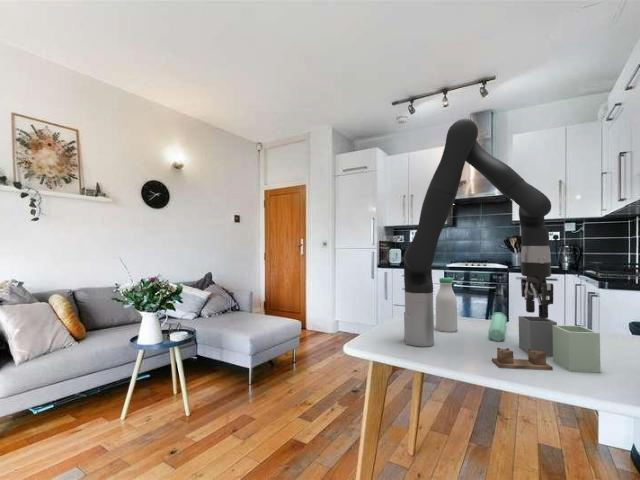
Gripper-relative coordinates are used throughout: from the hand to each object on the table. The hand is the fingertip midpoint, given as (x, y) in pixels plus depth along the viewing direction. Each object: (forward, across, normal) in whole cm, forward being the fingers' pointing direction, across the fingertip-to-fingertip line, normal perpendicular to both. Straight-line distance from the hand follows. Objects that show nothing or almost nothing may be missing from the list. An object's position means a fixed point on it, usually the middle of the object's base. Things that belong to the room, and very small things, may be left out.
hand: (536, 314), depth 96 cm
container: (+12, -21, -3) cm, 24 cm away
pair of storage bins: (+11, +5, +2) cm, 13 cm away
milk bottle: (+11, -23, -21) cm, 33 cm away
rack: (+11, +12, -10) cm, 19 cm away
